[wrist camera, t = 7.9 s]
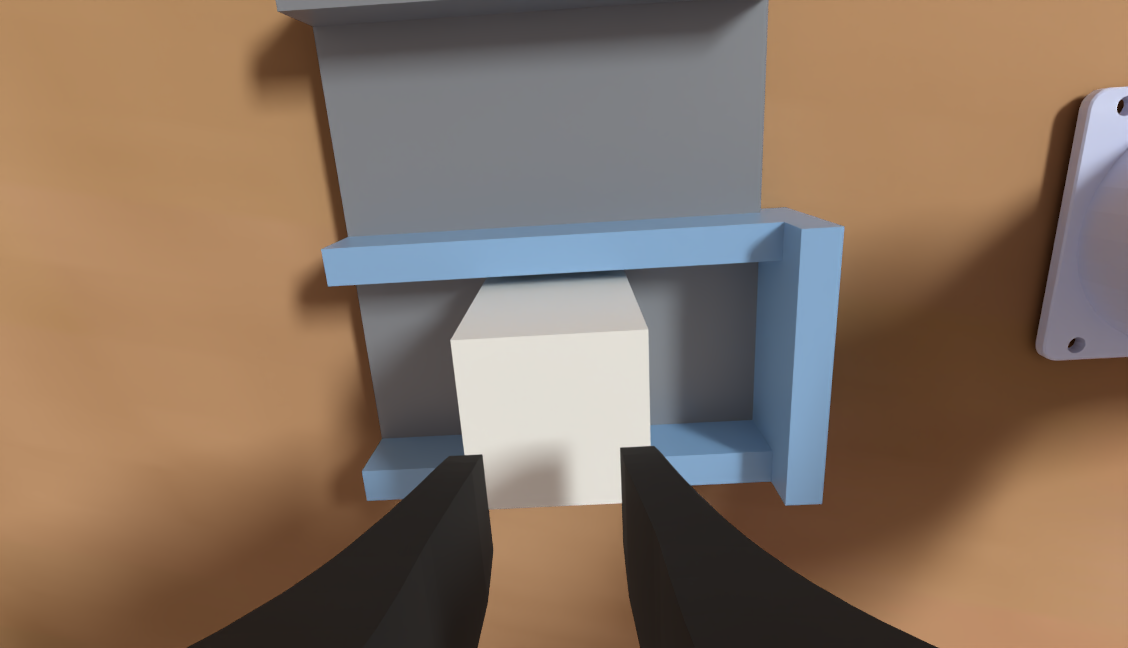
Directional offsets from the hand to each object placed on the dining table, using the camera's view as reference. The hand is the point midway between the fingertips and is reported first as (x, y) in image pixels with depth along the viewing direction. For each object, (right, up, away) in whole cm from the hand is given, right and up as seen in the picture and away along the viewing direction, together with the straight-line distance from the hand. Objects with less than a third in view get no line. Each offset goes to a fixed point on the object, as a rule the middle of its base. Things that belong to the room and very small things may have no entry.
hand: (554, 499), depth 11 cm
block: (0, +3, +8) cm, 8 cm away
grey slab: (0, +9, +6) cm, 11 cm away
